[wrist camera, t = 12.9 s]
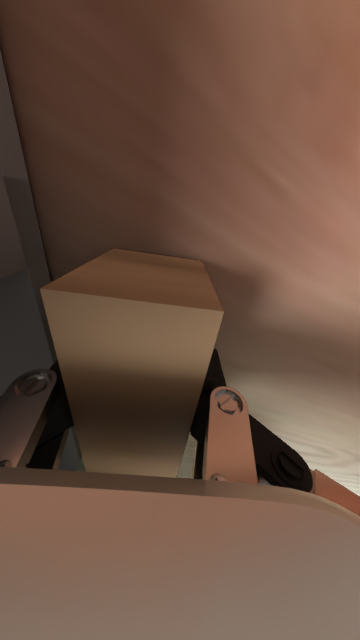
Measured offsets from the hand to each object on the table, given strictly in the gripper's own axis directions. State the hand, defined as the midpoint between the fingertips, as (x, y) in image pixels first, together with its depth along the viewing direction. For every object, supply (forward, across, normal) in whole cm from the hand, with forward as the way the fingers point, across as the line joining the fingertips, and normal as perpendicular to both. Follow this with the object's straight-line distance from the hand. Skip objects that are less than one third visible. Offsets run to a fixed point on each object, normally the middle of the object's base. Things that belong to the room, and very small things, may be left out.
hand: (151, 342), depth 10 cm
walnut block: (0, 0, 0) cm, 0 cm away
